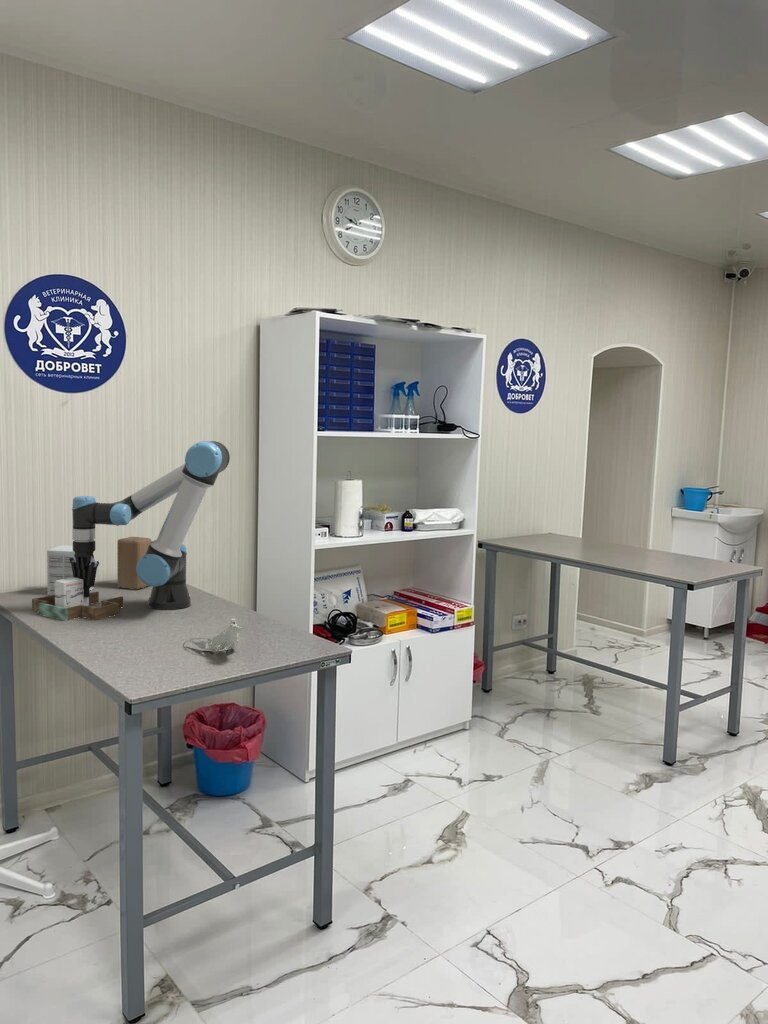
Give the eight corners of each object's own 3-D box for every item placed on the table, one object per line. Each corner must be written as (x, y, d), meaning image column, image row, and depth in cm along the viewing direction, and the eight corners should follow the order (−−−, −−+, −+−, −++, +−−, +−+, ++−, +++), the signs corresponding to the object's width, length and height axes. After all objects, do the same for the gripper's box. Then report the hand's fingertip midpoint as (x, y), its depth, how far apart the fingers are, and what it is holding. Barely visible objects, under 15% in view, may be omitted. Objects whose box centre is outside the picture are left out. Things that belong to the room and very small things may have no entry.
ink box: (63, 616, 269) (63, 582, 268) (53, 614, 271) (53, 580, 270) (84, 611, 276) (84, 578, 275) (74, 609, 279) (74, 576, 277)
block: (116, 588, 316) (116, 539, 314) (131, 583, 326) (131, 536, 324) (138, 590, 313) (138, 541, 311) (152, 586, 323) (152, 537, 321)
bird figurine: (231, 638, 249) (256, 597, 232) (238, 665, 245) (264, 625, 228) (182, 643, 241) (204, 601, 224) (188, 671, 236) (211, 630, 219)
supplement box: (61, 588, 313) (60, 544, 311) (94, 589, 313) (93, 546, 311) (46, 595, 300) (46, 550, 298) (81, 596, 300) (80, 551, 298)
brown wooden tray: (136, 610, 281) (136, 599, 280) (79, 624, 260) (79, 612, 259) (84, 599, 295) (84, 589, 294) (25, 611, 274) (25, 600, 273)
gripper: (105, 541, 276) (105, 606, 278) (80, 537, 282) (80, 601, 285) (87, 543, 269) (87, 610, 272) (62, 539, 276) (63, 605, 278)
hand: (84, 605), depth 278 cm, fingers closed
